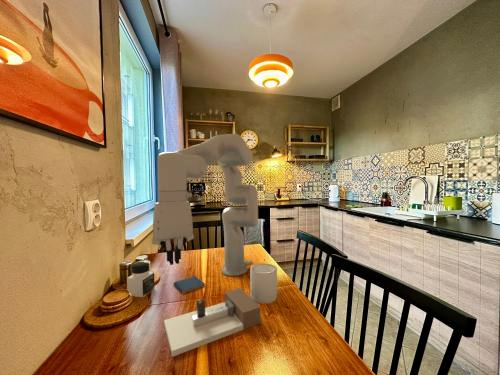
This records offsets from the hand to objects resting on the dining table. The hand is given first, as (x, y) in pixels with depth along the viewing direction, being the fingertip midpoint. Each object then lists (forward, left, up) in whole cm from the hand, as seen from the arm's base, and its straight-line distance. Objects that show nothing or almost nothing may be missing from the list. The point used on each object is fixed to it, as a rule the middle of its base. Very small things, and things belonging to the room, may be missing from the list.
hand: (173, 262), depth 61 cm
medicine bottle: (+7, -33, -21) cm, 40 cm away
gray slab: (-11, 0, -21) cm, 24 cm away
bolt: (-11, 0, -19) cm, 22 cm away
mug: (-34, -7, -21) cm, 41 cm away
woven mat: (-11, -29, -22) cm, 38 cm away
